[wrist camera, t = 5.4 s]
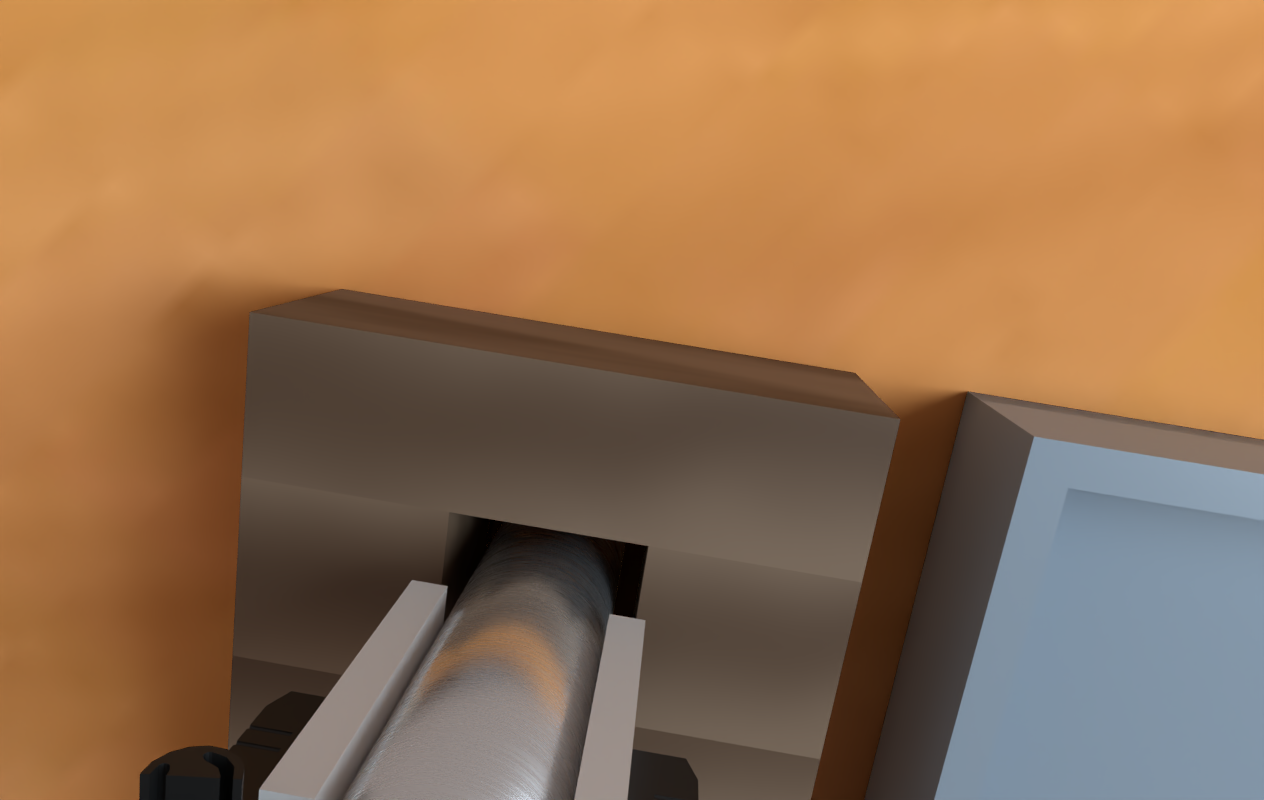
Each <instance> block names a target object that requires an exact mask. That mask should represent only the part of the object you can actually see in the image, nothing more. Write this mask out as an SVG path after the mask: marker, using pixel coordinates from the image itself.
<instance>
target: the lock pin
mask: <svg viewBox="0 0 1264 800" xmlns="http://www.w3.org/2000/svg"><path fill="white" fill-rule="evenodd" d="M624 551H625V542H622V541H616V540H610V539H604V538H598V537H592V536H586V535H581V534H575V533H569V532H563V531H557V530H551V529H545V528H540V527H534V526H528V525H522V524H516V523H510V522H504V521H503V523H502V524H501V526H500V528H499V530H498V531H497V533H496V535H495V537H494V538H493V540H492V542H491V543H490V545H489V547H488V549H487V550H486V552H485V554H484V556H483V557H482V559H481V561H480V562H479V564H478V566H477V568H476V569H475V571H474V573H473V575H472V576H471V578H470V580H469V581H468V583H467V585H466V587H465V588H464V590H463V592H462V594H461V595H460V597H459V599H458V600H457V602H456V604H455V606H454V607H453V609H452V611H451V613H450V614H449V616H448V618H447V619H446V621H445V623H444V625H443V626H442V628H441V630H440V631H439V633H438V635H437V637H436V638H435V640H434V642H433V644H432V645H431V647H430V649H429V650H428V652H427V654H426V656H425V657H424V659H423V661H422V663H421V664H420V666H419V668H418V669H417V671H416V673H415V675H414V676H413V678H412V680H411V682H410V683H409V685H408V687H407V688H406V690H405V692H404V694H403V695H402V697H401V699H400V701H399V702H398V704H397V706H396V707H395V709H394V711H393V713H392V714H391V716H390V718H389V720H388V721H387V723H386V725H385V726H384V728H383V730H382V732H381V733H380V735H379V737H378V739H377V740H376V742H375V744H374V745H373V747H372V749H371V751H370V752H369V754H368V756H367V757H366V759H365V761H364V763H363V764H362V766H361V768H360V770H359V771H358V773H357V775H356V776H355V778H354V780H353V782H352V783H351V785H350V787H349V789H348V790H347V792H346V794H345V795H344V797H343V799H342V800H574V798H575V793H576V787H577V782H578V777H579V772H580V766H581V761H582V756H583V751H584V745H585V740H586V735H587V730H588V724H589V719H590V714H591V709H592V703H593V698H594V693H595V688H596V682H597V677H598V672H599V667H600V661H601V656H602V651H603V646H604V640H605V635H606V630H607V625H608V619H609V614H612V615H613V612H614V607H615V601H616V596H617V590H618V585H619V579H620V573H621V568H622V562H623V557H624Z"/></svg>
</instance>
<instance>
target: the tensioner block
mask: <svg viewBox="0 0 1264 800" xmlns="http://www.w3.org/2000/svg"><path fill="white" fill-rule="evenodd" d="M899 424H900V418H899V417H898V416H897V415H896V414H895V413H894V412H893V411H892V410H891V409H890V408H889V407H888V406H887V405H886V404H885V403H884V402H883V401H882V400H881V399H880V398H879V397H878V396H877V395H876V394H875V393H874V392H873V391H872V390H871V389H870V388H869V387H868V386H867V385H866V384H865V383H864V382H863V380H862V379H861V378H860V377H859V376H858V375H857V374H856V373H852V372H846V371H839V370H833V369H827V368H821V367H815V366H809V365H803V364H797V363H791V362H784V361H778V360H772V359H766V358H760V357H754V356H748V355H742V354H736V353H729V352H723V351H717V350H711V349H705V348H699V347H693V346H687V345H681V344H674V343H668V342H662V341H656V340H650V339H644V338H638V337H632V336H625V335H619V334H613V333H607V332H601V331H595V330H589V329H583V328H577V327H570V326H564V325H558V324H552V323H546V322H540V321H534V320H528V319H522V318H515V317H509V316H503V315H497V314H491V313H485V312H479V311H473V310H467V309H460V308H454V307H448V306H442V305H436V304H430V303H424V302H418V301H412V300H405V299H399V298H393V297H387V296H381V295H375V294H369V293H363V292H357V291H350V290H344V289H340V290H336V291H332V292H328V293H324V294H320V295H316V296H312V297H308V298H304V299H300V300H296V301H292V302H288V303H284V304H280V305H276V306H272V307H268V308H264V309H260V310H256V311H252V312H250V317H249V337H248V357H247V377H246V397H245V418H244V438H243V458H242V478H241V498H240V518H239V538H238V558H237V578H236V599H235V619H234V639H233V659H232V679H231V699H230V719H229V739H228V750H229V749H230V748H231V747H232V746H233V745H236V743H237V740H238V739H239V738H240V736H241V735H242V734H243V733H244V732H245V730H246V729H249V727H250V724H251V723H252V722H253V721H254V720H255V718H256V717H257V716H258V715H259V714H260V712H261V711H262V710H263V709H264V708H265V707H266V706H267V705H268V704H270V703H272V702H273V701H275V700H277V699H279V698H280V697H282V696H284V695H286V694H287V693H289V692H291V691H294V692H300V693H306V694H311V695H317V696H323V697H327V696H328V694H329V693H330V692H331V690H332V689H333V687H334V686H335V685H336V683H337V682H338V681H339V679H340V678H341V677H342V675H343V674H344V672H345V671H346V670H347V668H348V667H349V666H350V664H351V663H352V661H353V660H354V659H355V657H356V656H357V655H358V653H359V652H360V651H361V649H362V648H363V646H364V645H365V644H366V642H367V641H368V640H369V638H370V637H371V636H372V634H373V633H374V631H375V630H376V629H377V627H378V626H379V625H380V623H381V622H382V620H383V619H384V618H385V616H386V615H387V614H388V612H389V611H390V610H391V608H392V607H393V605H394V604H395V603H396V601H397V600H398V599H399V597H400V596H401V594H402V593H403V592H404V590H405V589H406V588H407V586H408V585H409V584H410V582H411V581H412V580H415V581H421V582H427V583H432V584H438V585H444V586H448V587H447V596H446V605H445V614H444V622H443V625H444V623H445V621H446V619H447V618H448V616H449V614H450V613H451V611H452V609H453V607H454V606H455V604H456V602H457V600H458V599H459V597H460V595H461V594H462V592H463V590H464V588H465V587H466V585H467V583H468V581H469V580H470V578H471V576H472V575H473V573H474V571H475V569H476V568H477V566H478V564H479V562H480V561H481V559H482V557H483V556H484V554H485V551H486V543H487V534H488V526H489V519H493V520H498V521H504V522H510V523H516V524H522V525H528V526H534V527H540V528H545V529H551V530H557V531H563V532H569V533H575V534H581V535H586V536H592V537H598V538H604V539H610V540H616V541H622V542H628V543H633V544H639V545H645V549H644V555H643V560H642V566H641V572H640V578H639V584H638V590H637V596H636V602H635V608H634V614H633V618H635V619H641V620H645V630H644V640H643V650H642V660H641V669H640V679H639V689H638V699H637V709H636V719H635V729H634V739H633V749H635V750H641V751H646V752H652V753H658V754H663V755H669V756H675V757H680V758H686V759H687V761H688V763H689V765H690V766H691V768H692V770H693V772H694V774H695V775H696V777H697V779H698V797H699V800H811V796H812V792H813V788H814V784H815V779H816V775H817V771H818V767H819V763H820V758H821V754H822V750H823V746H824V741H825V737H826V733H827V729H828V724H829V720H830V716H831V712H832V707H833V703H834V699H835V695H836V690H837V686H838V682H839V678H840V674H841V669H842V665H843V661H844V657H845V652H846V648H847V644H848V640H849V635H850V631H851V627H852V623H853V618H854V614H855V610H856V606H857V602H858V597H859V593H860V589H861V585H862V580H863V576H864V572H865V568H866V563H867V559H868V555H869V551H870V546H871V542H872V538H873V534H874V529H875V525H876V521H877V517H878V513H879V508H880V504H881V500H882V496H883V491H884V487H885V483H886V479H887V474H888V470H889V466H890V462H891V457H892V453H893V449H894V445H895V440H896V436H897V432H898V428H899Z"/></svg>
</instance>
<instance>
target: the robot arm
mask: <svg viewBox="0 0 1264 800" xmlns="http://www.w3.org/2000/svg"><path fill="white" fill-rule="evenodd" d="M447 587H448V586H444V585H438V584H432V583H427V582H421V581H415V580H412V581H411V582H410V584H409V585H408V586H407V588H406V589H405V590H404V592H403V593H402V594H401V596H400V597H399V599H398V600H397V601H396V603H395V604H394V605H393V607H392V608H391V610H390V611H389V612H388V614H387V615H386V616H385V618H384V619H383V620H382V622H381V623H380V625H379V626H378V627H377V629H376V630H375V631H374V633H373V634H372V636H371V637H370V638H369V640H368V641H367V642H366V644H365V645H364V646H363V648H362V649H361V651H360V652H359V653H358V655H357V656H356V657H355V659H354V660H353V661H352V663H351V664H350V666H349V667H348V668H347V670H346V671H345V672H344V674H343V675H342V677H341V678H340V679H339V681H338V682H337V683H336V685H335V686H334V687H333V689H332V690H331V692H330V693H329V694H328V696H327V697H323V696H317V695H311V694H306V693H300V692H294V691H291V692H289V693H287V694H286V695H284V696H282V697H280V698H279V699H277V700H275V701H273V702H272V703H270V704H268V705H267V706H266V707H265V708H264V709H263V710H262V711H261V712H260V714H259V715H258V716H257V717H256V718H255V720H254V721H253V722H252V723H251V724H250V727H249V729H246V730H245V732H244V733H243V734H242V735H241V736H240V738H239V739H238V740H237V743H236V745H233V746H232V747H231V748H230V749H229V750H227V749H223V748H218V747H213V746H196V747H187V748H184V749H180V750H176V751H173V752H169V753H167V754H166V755H164V756H162V757H160V758H158V759H156V760H154V761H153V762H151V763H150V764H149V765H148V766H147V767H146V768H145V769H144V770H143V771H142V772H141V773H140V798H139V800H342V799H343V797H344V795H345V794H346V792H347V790H348V789H349V787H350V785H351V783H352V782H353V780H354V778H355V776H356V775H357V773H358V771H359V770H360V768H361V766H362V764H363V763H364V761H365V759H366V757H367V756H368V754H369V752H370V751H371V749H372V747H373V745H374V744H375V742H376V740H377V739H378V737H379V735H380V733H381V732H382V730H383V728H384V726H385V725H386V723H387V721H388V720H389V718H390V716H391V714H392V713H393V711H394V709H395V707H396V706H397V704H398V702H399V701H400V699H401V697H402V695H403V694H404V692H405V690H406V688H407V687H408V685H409V683H410V682H411V680H412V678H413V676H414V675H415V673H416V671H417V669H418V668H419V666H420V664H421V663H422V661H423V659H424V657H425V656H426V654H427V652H428V650H429V649H430V647H431V645H432V644H433V642H434V640H435V638H436V637H437V635H438V633H439V631H440V630H441V628H442V626H443V622H444V614H445V605H446V596H447ZM644 630H645V620H641V619H635V618H630V617H624V616H618V615H612V614H609V619H608V625H607V630H606V635H605V640H604V646H603V651H602V656H601V661H600V667H599V672H598V677H597V682H596V688H595V693H594V698H593V703H592V709H591V714H590V719H589V724H588V730H587V735H586V740H585V745H584V751H583V756H582V761H581V766H580V772H579V777H578V782H577V787H576V793H575V798H574V800H699V797H698V779H697V777H696V775H695V774H694V772H693V770H692V768H691V766H690V765H689V763H688V761H687V759H686V758H680V757H675V756H669V755H663V754H658V753H652V752H646V751H641V750H635V749H633V739H634V729H635V719H636V709H637V699H638V689H639V679H640V669H641V660H642V650H643V640H644Z"/></svg>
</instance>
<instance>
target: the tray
mask: <svg viewBox="0 0 1264 800" xmlns="http://www.w3.org/2000/svg"><path fill="white" fill-rule="evenodd" d="M864 800H1264V440H1261V439H1255V438H1249V437H1243V436H1237V435H1231V434H1225V433H1218V432H1212V431H1206V430H1200V429H1194V428H1188V427H1182V426H1176V425H1170V424H1163V423H1157V422H1151V421H1145V420H1139V419H1133V418H1127V417H1121V416H1115V415H1108V414H1102V413H1096V412H1090V411H1084V410H1078V409H1072V408H1066V407H1060V406H1053V405H1047V404H1041V403H1035V402H1029V401H1023V400H1017V399H1011V398H1004V397H998V396H992V395H986V394H980V393H974V392H967V396H966V400H965V404H964V408H963V411H962V415H961V419H960V423H959V427H958V431H957V435H956V439H955V443H954V447H953V451H952V455H951V459H950V463H949V467H948V471H947V475H946V479H945V483H944V487H943V490H942V494H941V498H940V502H939V506H938V510H937V514H936V518H935V522H934V526H933V530H932V534H931V538H930V542H929V546H928V550H927V554H926V558H925V562H924V566H923V570H922V573H921V577H920V581H919V585H918V589H917V593H916V597H915V601H914V605H913V609H912V613H911V617H910V621H909V625H908V629H907V633H906V637H905V641H904V645H903V649H902V653H901V656H900V660H899V664H898V668H897V672H896V676H895V680H894V684H893V688H892V692H891V696H890V700H889V704H888V708H887V712H886V716H885V720H884V724H883V728H882V732H881V736H880V739H879V743H878V747H877V751H876V755H875V759H874V763H873V767H872V771H871V775H870V779H869V783H868V787H867V791H866V795H865V799H864Z"/></svg>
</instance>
